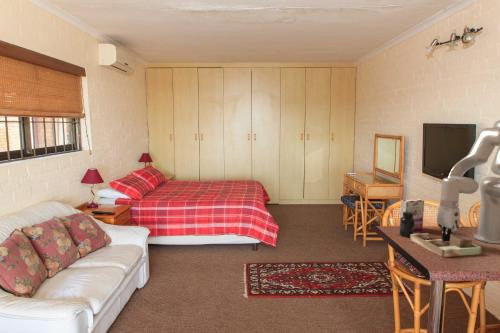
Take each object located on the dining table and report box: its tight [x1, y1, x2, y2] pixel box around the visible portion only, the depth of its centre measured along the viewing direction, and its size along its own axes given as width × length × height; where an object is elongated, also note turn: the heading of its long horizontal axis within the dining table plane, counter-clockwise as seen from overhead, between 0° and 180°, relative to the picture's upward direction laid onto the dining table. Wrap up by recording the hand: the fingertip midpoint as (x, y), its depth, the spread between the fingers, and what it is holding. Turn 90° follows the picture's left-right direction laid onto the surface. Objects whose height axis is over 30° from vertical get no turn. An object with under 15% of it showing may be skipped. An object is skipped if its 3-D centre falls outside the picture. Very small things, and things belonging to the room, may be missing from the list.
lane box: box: [409, 232, 462, 258], centre depth 167 cm, size 20×22×3 cm
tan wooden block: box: [449, 234, 473, 248], centre depth 162 cm, size 6×6×6 cm
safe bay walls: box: [439, 243, 483, 257], centre depth 161 cm, size 19×9×3 cm, turn 102°
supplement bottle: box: [398, 212, 415, 238], centre depth 182 cm, size 7×7×12 cm
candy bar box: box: [399, 198, 425, 231], centre depth 193 cm, size 11×5×16 cm, turn 105°
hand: (445, 240), depth 172 cm, fingers closed
